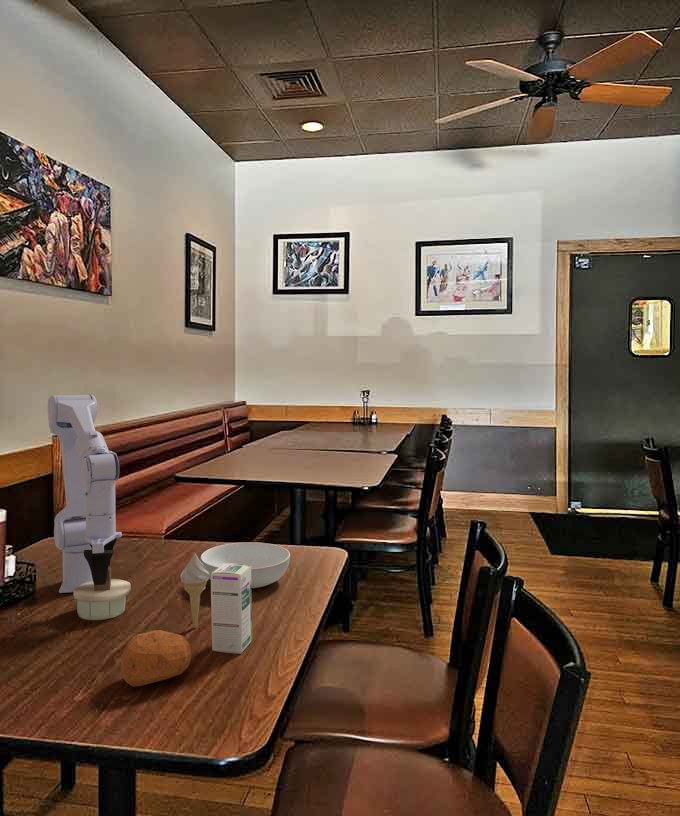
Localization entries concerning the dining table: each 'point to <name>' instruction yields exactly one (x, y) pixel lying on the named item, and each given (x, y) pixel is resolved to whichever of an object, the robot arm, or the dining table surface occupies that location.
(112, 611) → the bowl
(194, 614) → the ice cream cone
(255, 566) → the serving bowl
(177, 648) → the potato
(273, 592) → the dining table surface
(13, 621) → the dining table surface
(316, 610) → the dining table surface
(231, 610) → the syrup box
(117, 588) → the lid
